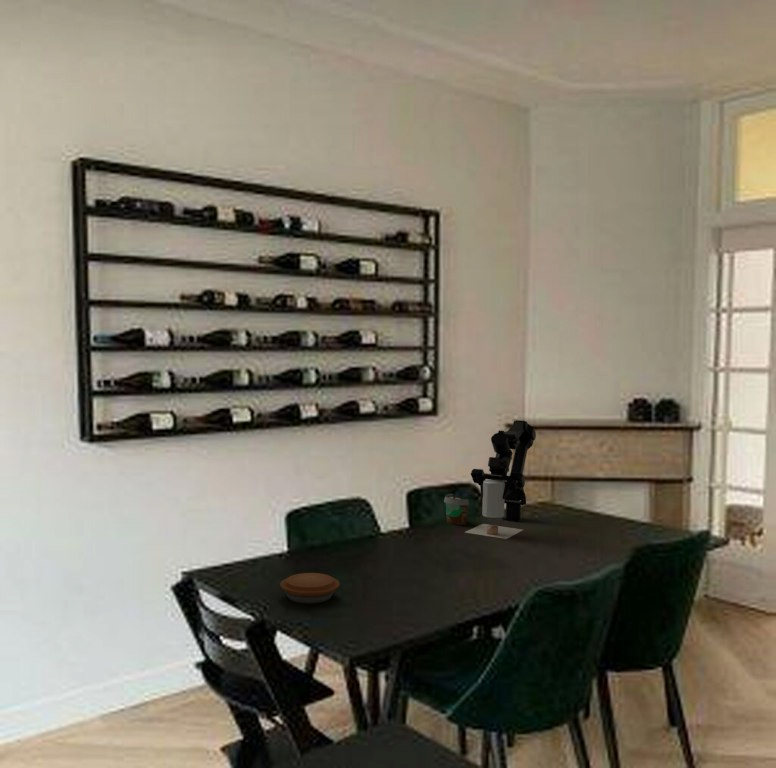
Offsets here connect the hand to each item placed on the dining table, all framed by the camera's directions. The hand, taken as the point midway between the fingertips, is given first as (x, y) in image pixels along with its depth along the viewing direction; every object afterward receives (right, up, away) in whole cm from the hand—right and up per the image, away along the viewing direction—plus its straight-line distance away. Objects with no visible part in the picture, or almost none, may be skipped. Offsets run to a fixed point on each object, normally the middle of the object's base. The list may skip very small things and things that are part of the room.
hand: (492, 497), depth 272 cm
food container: (-12, -13, +18) cm, 25 cm away
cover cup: (+1, -7, +2) cm, 7 cm away
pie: (-57, -16, -68) cm, 91 cm away
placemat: (+1, -13, +6) cm, 14 cm away
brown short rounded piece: (0, -13, +2) cm, 13 cm away
